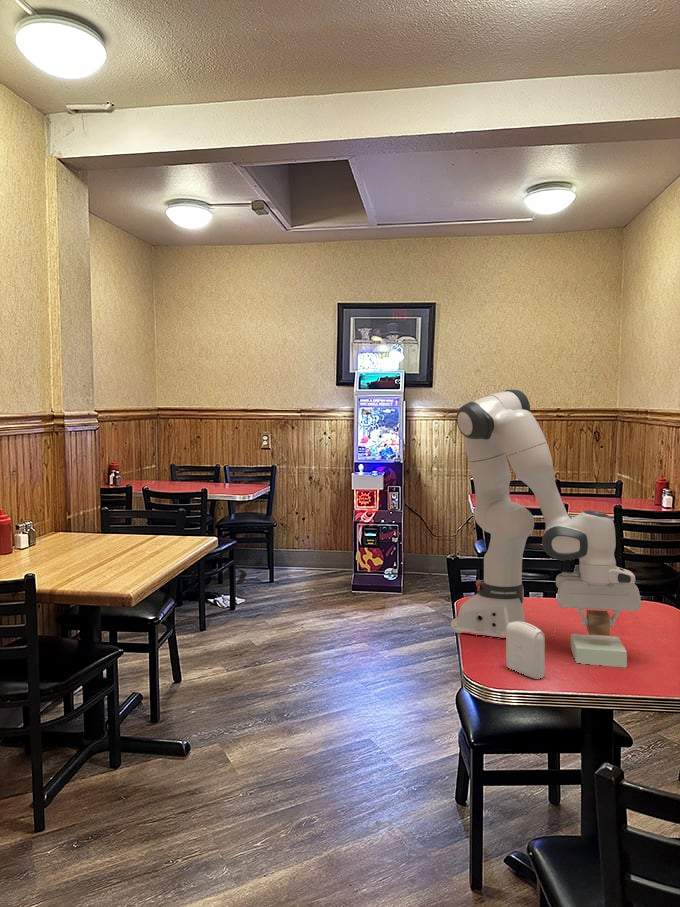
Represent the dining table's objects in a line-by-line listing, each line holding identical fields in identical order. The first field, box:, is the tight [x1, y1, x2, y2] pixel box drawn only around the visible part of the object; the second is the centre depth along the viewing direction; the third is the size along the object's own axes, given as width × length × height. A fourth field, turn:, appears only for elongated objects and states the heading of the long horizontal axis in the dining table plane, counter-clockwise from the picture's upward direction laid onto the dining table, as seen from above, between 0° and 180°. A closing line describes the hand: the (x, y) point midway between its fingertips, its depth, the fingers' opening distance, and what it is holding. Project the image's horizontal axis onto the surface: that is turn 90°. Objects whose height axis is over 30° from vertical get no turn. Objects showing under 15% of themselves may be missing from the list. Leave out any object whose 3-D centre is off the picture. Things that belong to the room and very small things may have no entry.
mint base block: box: [570, 633, 628, 669], centre depth 167 cm, size 12×12×4 cm
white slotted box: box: [505, 621, 546, 680], centre depth 156 cm, size 10×4×12 cm, turn 32°
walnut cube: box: [586, 609, 611, 636], centre depth 166 cm, size 5×5×5 cm
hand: (598, 625), depth 166 cm, fingers closed on walnut cube, 5 cm apart
